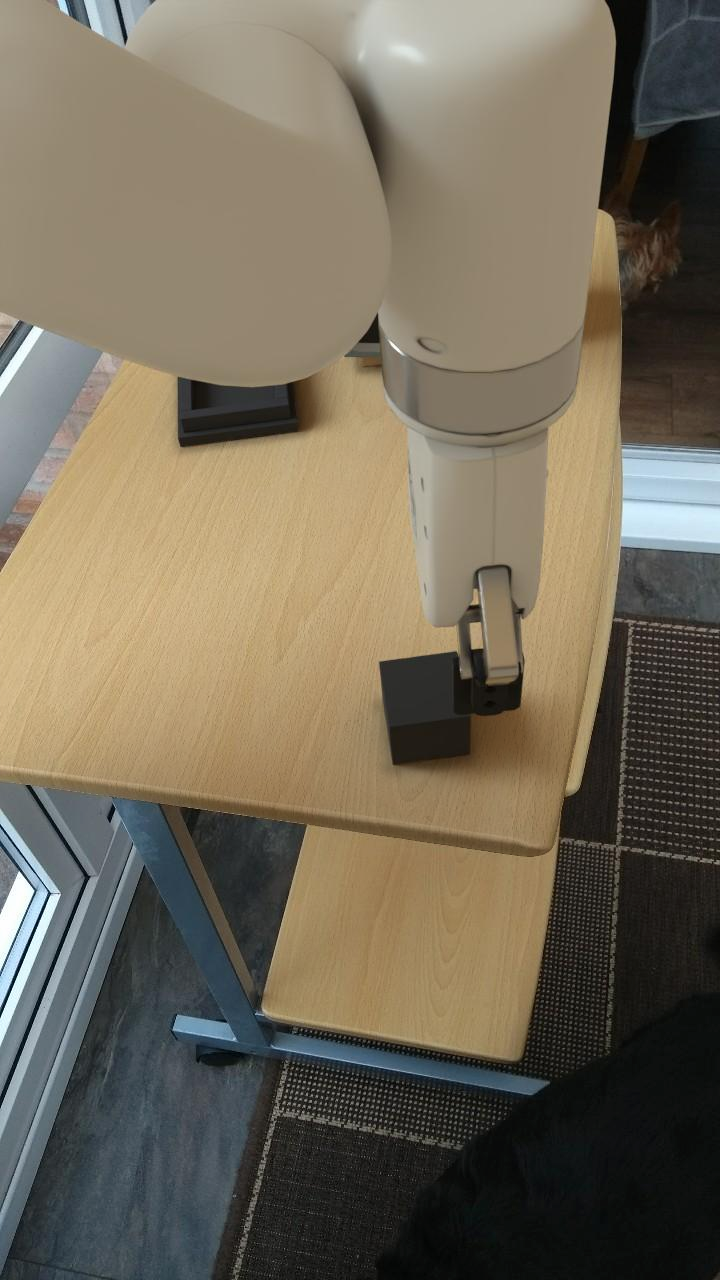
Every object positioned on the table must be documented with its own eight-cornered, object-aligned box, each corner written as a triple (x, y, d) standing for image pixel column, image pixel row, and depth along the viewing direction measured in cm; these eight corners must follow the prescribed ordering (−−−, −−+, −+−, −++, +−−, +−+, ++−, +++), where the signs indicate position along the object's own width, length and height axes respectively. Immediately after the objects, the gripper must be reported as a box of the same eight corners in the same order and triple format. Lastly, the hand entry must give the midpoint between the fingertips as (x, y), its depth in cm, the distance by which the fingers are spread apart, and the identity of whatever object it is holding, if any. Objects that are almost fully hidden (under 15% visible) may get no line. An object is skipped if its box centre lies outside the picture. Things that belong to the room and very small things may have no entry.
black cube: (392, 765, 65) (389, 727, 61) (382, 700, 68) (378, 661, 64) (470, 754, 65) (471, 716, 61) (456, 690, 68) (456, 650, 65)
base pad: (180, 447, 85) (173, 423, 83) (179, 372, 91) (173, 349, 89) (299, 431, 85) (295, 407, 83) (290, 357, 91) (287, 334, 89)
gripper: (366, 235, 44) (387, 514, 57) (400, 525, 33) (415, 783, 47) (540, 218, 44) (520, 502, 57) (629, 503, 33) (578, 769, 47)
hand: (473, 628), depth 52 cm, fingers open, 9 cm apart
